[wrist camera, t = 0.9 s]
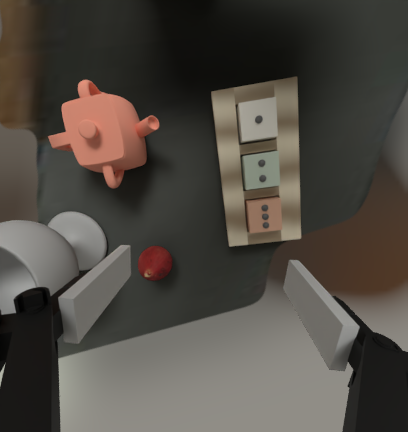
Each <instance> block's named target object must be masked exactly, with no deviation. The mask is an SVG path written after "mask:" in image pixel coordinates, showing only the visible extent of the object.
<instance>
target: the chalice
mask: <svg viewBox="0 0 408 432" xmlns="http://www.w3.org/2000/svg"><path fill="white" fill-rule="evenodd" d="M106 252H107V240H106V236H105V234H104V232H103V230H102V228H101V227H100V226H99V225H98V223H97V222H96V221H94V220H93V219H92V218H91V217H89V216H87V215H85V214H82V213H79V212H71V211H69V212H63V213H60V214H58V215H56V216H55V217H54V218H53V219H52V220H51V221H50V222H49V224H48V226H46V225H43V224H40V223H37V222H33V221H22V220H21V221H20V220H13V221H8V222H3V223H0V310H1V315H4V314H11V313H16V310H15V305H14V301H13V300H14V298H15V297H16V296H17V295H18V294H20V293H21V292H24V291H26V290H28V289H31V288H36V287H47V288H49V290H50V296H52V295H53V294H54V293H55V292H57V291H58V290H59V289H61V288H63V286H64V285H66V284H67V283H68V282H69V281H71V280H72V279H73V278H74V277H76V276H79V270H82V271H83V270H90V269H92V268H94V267H95V266H97V265H98V264H99V263H100V262H101V261H103V260H104V258H105V256H106Z"/></svg>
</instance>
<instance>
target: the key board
mask: <svg viewBox="0 0 408 432" xmlns="http://www.w3.org/2000/svg"><path fill="white" fill-rule="evenodd" d="M272 97H276V106H277V128H278V136H277V137H275V138H273V139H271V140H270V141H264V142H257V143H250V144H244V145H239V140H238V129H237V118H236V109H237V107H238V104H239V103H242V102H248V101H254V100H260V99H266V98H272ZM211 98H212V108H213V116H214V125H215V133H216V142H217V150H218V159H219V167H220V176H221V184H222V193H223V201H224V210H225V218H226V227H227V235H228V242H229V247H232V246H241V245H249V244H258V243H267V242H276V241H285V240H294V239H301V212H300V169H299V126H298V83H297V77H291V78H286V79H280V80H274V81H269V82H263V83H257V84H251V85H246V86H240V87H234V88H229V89H223V90H217V91H212V92H211ZM269 151H271V152H273V151H279V170H280V186H273V187H265V188H258V189H250V190H246V189H243V183H242V172H241V161H240V156H242V155H249V154H256V153H262V152H269ZM269 196H276V197H278V198H280V199H281V213H282V230H276V231H268V232H259V233H250V232H249V230H248V229H247V227H246V216H245V205H244V200H246V199H254V198H262V197H269Z"/></svg>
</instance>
